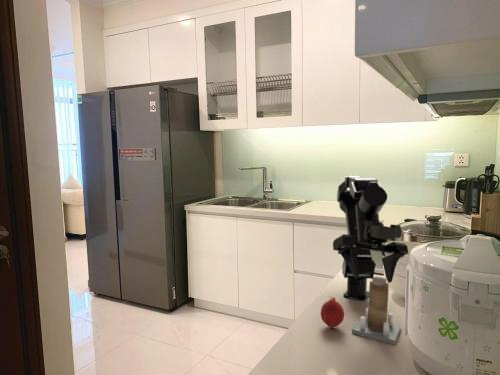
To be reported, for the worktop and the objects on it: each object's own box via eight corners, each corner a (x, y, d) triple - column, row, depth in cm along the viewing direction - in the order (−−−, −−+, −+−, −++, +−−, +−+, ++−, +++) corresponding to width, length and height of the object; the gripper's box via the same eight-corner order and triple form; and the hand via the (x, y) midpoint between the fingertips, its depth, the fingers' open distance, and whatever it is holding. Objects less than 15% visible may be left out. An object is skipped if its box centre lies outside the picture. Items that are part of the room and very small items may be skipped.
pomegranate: (342, 335, 87) (343, 304, 86) (318, 331, 89) (319, 300, 88) (345, 324, 92) (345, 294, 91) (322, 320, 94) (323, 291, 93)
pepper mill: (369, 321, 92) (371, 274, 90) (387, 325, 90) (390, 277, 88) (365, 328, 88) (368, 280, 86) (384, 333, 86) (387, 283, 84)
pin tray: (360, 319, 95) (360, 305, 94) (400, 329, 90) (401, 314, 89) (351, 332, 88) (352, 317, 87) (394, 344, 83) (395, 328, 82)
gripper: (352, 204, 86) (357, 269, 79) (418, 216, 90) (428, 278, 83) (330, 219, 96) (333, 278, 89) (391, 229, 100) (398, 286, 93)
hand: (373, 280), depth 88 cm, fingers open, 9 cm apart
